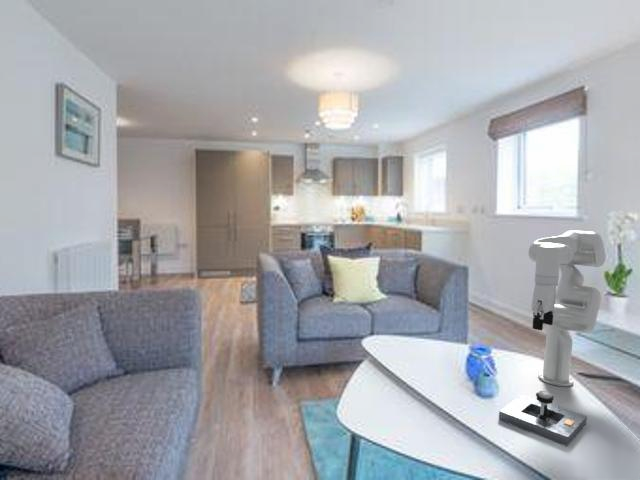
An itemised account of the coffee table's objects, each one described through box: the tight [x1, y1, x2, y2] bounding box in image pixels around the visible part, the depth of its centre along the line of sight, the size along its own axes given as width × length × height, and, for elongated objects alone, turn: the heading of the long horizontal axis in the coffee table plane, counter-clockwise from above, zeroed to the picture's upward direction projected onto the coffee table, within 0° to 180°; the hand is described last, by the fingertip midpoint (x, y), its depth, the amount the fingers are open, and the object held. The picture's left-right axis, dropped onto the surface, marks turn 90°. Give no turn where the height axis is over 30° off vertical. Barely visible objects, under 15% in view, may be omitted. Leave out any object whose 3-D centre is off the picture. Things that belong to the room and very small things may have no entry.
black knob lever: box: [535, 390, 555, 422], centre depth 146 cm, size 7×5×10 cm
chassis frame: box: [498, 393, 588, 447], centre depth 146 cm, size 19×21×3 cm
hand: (542, 326), depth 158 cm, fingers open, 9 cm apart
